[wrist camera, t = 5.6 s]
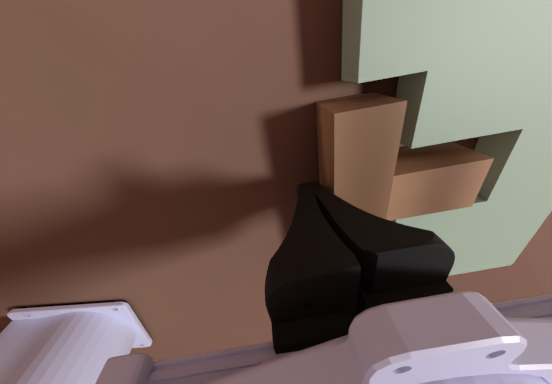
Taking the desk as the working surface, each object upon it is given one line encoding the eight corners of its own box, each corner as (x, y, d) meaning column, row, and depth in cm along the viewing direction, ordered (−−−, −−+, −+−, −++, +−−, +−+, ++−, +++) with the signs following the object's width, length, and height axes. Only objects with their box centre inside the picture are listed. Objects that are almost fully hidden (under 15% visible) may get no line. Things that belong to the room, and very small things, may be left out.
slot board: (337, 272, 19) (346, 293, 17) (343, -39, 8) (366, -66, 6) (488, 246, 19) (511, 264, 17) (695, -104, 8) (814, -150, 6)
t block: (321, 236, 16) (334, 268, 14) (315, 102, 11) (334, 113, 8) (422, 219, 16) (453, 248, 14) (465, 75, 11) (530, 78, 8)
